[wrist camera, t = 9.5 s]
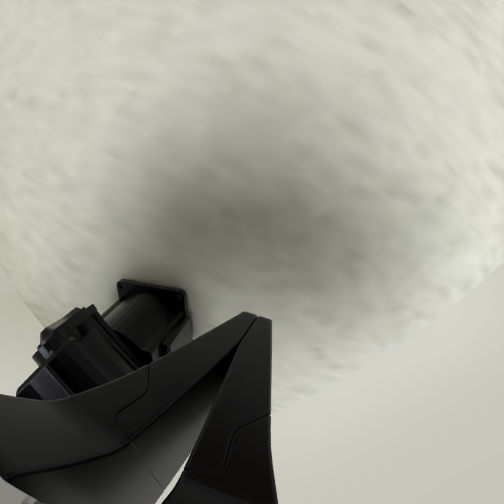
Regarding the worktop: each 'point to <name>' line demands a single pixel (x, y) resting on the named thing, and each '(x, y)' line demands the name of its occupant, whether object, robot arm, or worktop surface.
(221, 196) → the worktop surface
